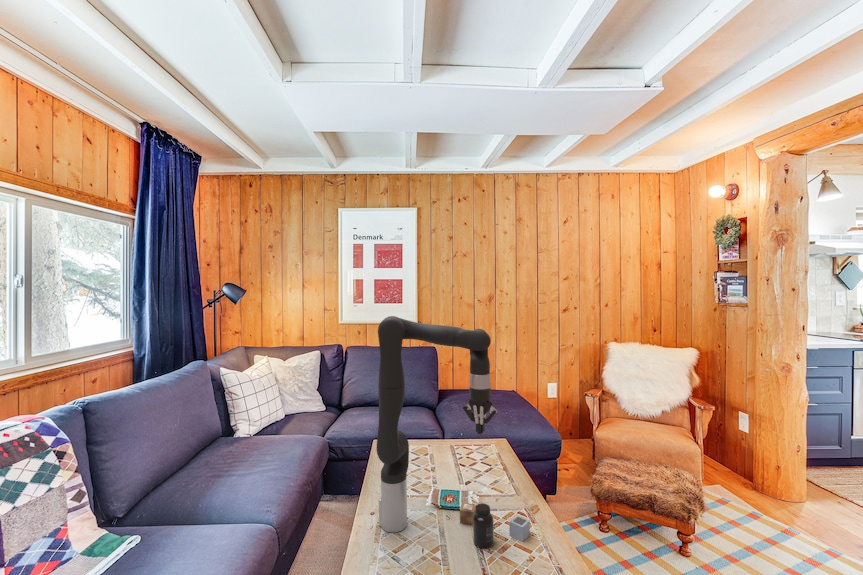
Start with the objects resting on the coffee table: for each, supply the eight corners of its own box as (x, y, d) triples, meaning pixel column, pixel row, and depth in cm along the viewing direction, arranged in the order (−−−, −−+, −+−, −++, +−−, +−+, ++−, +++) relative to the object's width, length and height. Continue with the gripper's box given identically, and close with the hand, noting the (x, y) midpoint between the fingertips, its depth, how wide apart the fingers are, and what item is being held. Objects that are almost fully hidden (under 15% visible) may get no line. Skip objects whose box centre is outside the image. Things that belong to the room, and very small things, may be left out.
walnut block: (460, 523, 144) (459, 509, 144) (462, 515, 149) (462, 501, 149) (473, 525, 143) (473, 511, 143) (476, 517, 147) (476, 504, 147)
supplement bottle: (491, 535, 137) (491, 501, 137) (495, 548, 130) (495, 512, 130) (471, 536, 137) (471, 501, 137) (474, 549, 130) (474, 513, 130)
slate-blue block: (509, 535, 137) (509, 520, 137) (516, 528, 141) (516, 514, 141) (522, 542, 134) (522, 526, 134) (529, 534, 137) (529, 519, 137)
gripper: (458, 386, 142) (459, 434, 142) (494, 390, 136) (494, 440, 136) (466, 381, 149) (467, 427, 149) (501, 385, 143) (501, 432, 143)
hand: (480, 433), depth 143 cm, fingers closed
